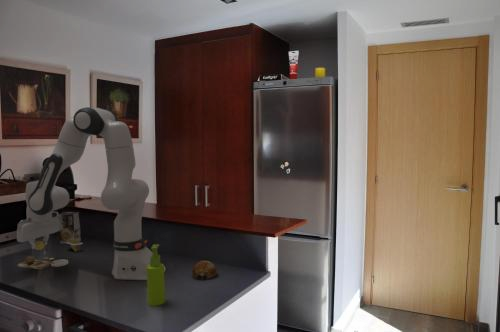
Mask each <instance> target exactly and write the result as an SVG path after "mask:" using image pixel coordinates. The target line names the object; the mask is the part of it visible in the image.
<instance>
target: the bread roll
mask: <svg viewBox="0 0 500 332" xmlns="http://www.w3.org/2000/svg"><path fill="white" fill-rule="evenodd" d="M217 271H218V269H217V267H216V265H215V264H214V263H213V262H211V261H209V260H200V261H199V262H197V263H196V264H195V265H194V266H193V268H192V272H191V273H192V277H193V278H194V279H195V280H201V281H203V280H211V279H213V278H215V276H216V275H217Z"/></svg>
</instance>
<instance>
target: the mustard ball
mask: <svg viewBox="0 0 500 332" xmlns="http://www.w3.org/2000/svg"><path fill="white" fill-rule="evenodd" d="M42 241H43V240H38V241H35V244H37V248H36V249H35V250H36V251H42V250H43V249H44V248H45V245H44V243H43V242H42Z"/></svg>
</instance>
